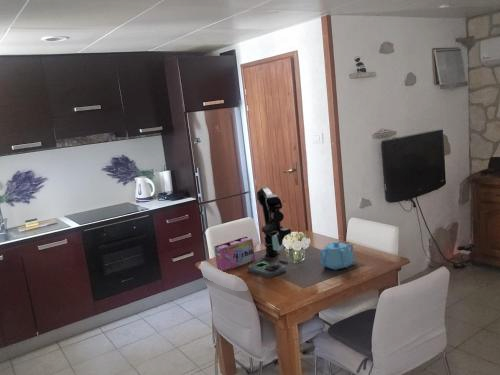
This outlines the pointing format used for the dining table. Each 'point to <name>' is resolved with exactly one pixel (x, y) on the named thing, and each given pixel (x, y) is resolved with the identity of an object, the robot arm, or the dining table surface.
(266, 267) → the panel
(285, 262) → the pair of grey bars
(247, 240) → the gum box
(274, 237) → the plug
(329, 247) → the decorative pot
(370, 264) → the dining table surface
